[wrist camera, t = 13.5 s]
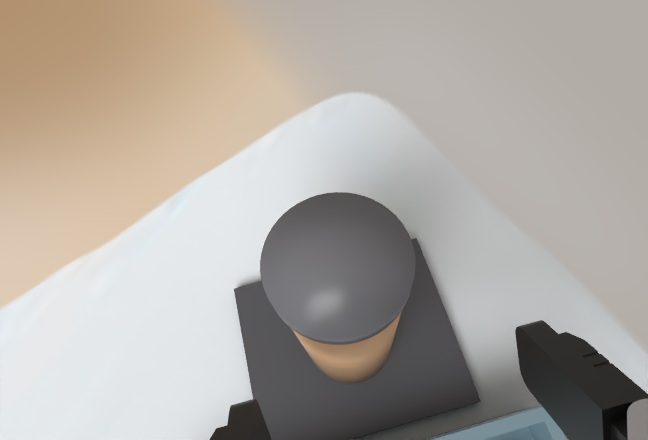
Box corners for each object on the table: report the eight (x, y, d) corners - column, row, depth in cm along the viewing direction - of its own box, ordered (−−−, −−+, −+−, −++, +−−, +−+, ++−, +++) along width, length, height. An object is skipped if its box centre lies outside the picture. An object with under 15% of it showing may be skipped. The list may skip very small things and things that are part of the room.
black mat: (415, 241, 29) (416, 238, 28) (478, 401, 24) (480, 401, 24) (236, 291, 28) (233, 289, 28) (266, 464, 24) (265, 464, 23)
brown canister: (377, 289, 27) (386, 176, 16) (404, 371, 25) (439, 312, 13) (298, 311, 27) (247, 214, 15) (318, 396, 25) (277, 358, 13)
